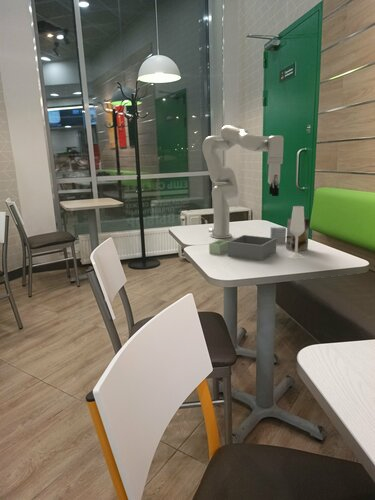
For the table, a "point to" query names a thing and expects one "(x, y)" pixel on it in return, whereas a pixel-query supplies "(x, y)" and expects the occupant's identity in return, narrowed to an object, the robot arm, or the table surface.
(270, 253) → the box
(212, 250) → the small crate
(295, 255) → the champagne flute
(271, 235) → the medicine box
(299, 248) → the coffee box
